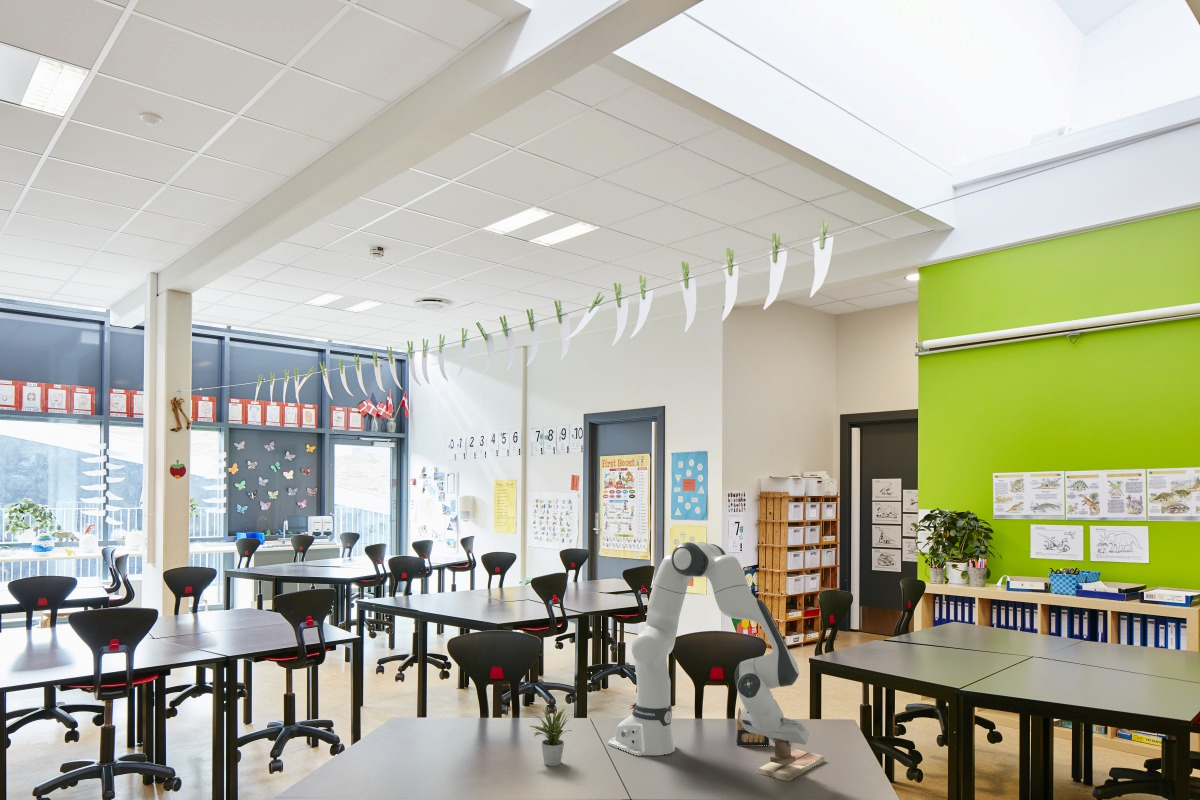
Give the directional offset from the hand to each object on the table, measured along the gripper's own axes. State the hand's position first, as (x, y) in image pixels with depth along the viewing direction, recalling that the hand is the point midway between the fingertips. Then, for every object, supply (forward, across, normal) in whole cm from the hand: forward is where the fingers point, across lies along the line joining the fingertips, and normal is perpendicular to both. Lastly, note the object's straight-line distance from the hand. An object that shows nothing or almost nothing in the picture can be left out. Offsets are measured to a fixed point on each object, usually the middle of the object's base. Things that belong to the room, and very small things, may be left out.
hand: (783, 742), depth 256 cm
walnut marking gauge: (+3, 0, +4) cm, 5 cm away
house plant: (-23, +58, +35) cm, 71 cm away
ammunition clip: (+18, +20, -5) cm, 27 cm away
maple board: (+10, 0, +2) cm, 10 cm away
